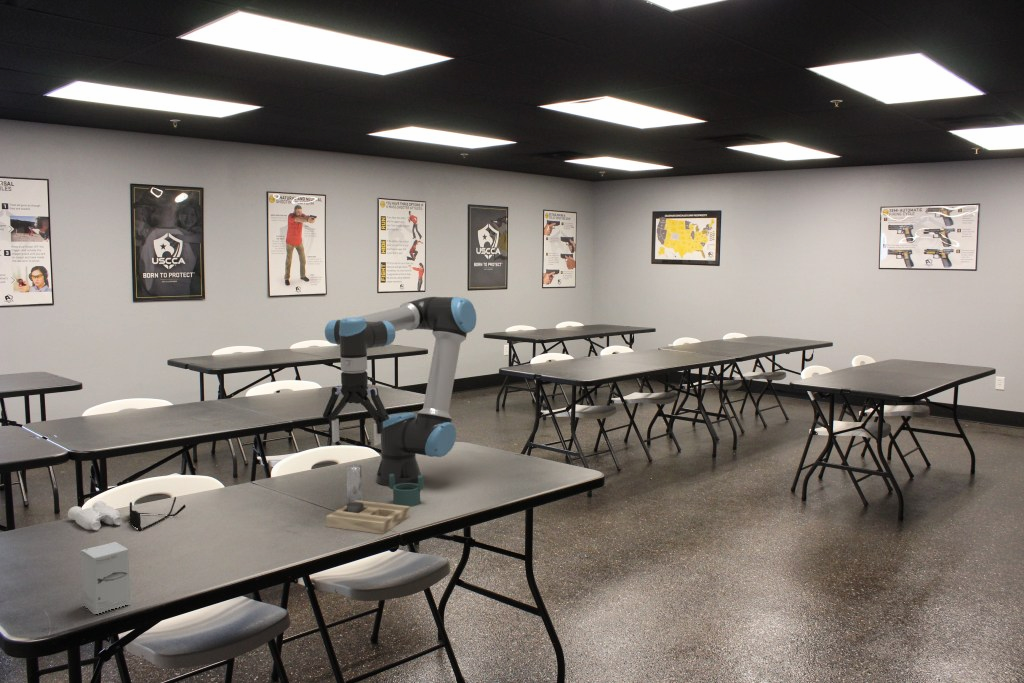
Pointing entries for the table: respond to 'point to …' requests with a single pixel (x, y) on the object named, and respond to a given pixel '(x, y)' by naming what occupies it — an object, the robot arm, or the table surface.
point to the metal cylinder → (354, 483)
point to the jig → (368, 516)
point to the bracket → (406, 491)
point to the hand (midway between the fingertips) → (356, 443)
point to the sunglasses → (135, 516)
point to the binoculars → (95, 516)
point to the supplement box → (105, 577)
